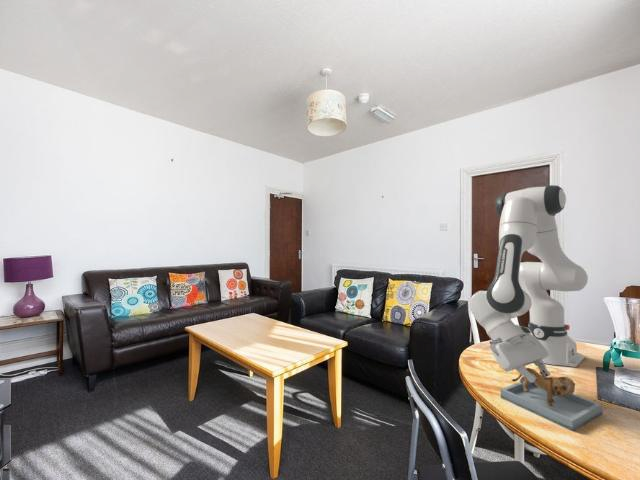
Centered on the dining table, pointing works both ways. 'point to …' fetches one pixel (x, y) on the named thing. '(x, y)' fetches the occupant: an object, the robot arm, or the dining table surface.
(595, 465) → the dining table surface
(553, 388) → the lion figurine
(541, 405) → the grey tray
